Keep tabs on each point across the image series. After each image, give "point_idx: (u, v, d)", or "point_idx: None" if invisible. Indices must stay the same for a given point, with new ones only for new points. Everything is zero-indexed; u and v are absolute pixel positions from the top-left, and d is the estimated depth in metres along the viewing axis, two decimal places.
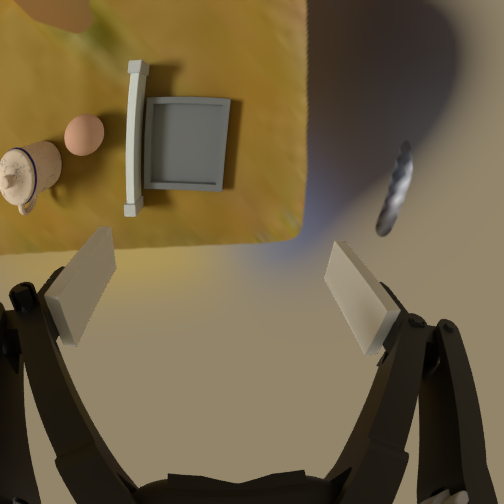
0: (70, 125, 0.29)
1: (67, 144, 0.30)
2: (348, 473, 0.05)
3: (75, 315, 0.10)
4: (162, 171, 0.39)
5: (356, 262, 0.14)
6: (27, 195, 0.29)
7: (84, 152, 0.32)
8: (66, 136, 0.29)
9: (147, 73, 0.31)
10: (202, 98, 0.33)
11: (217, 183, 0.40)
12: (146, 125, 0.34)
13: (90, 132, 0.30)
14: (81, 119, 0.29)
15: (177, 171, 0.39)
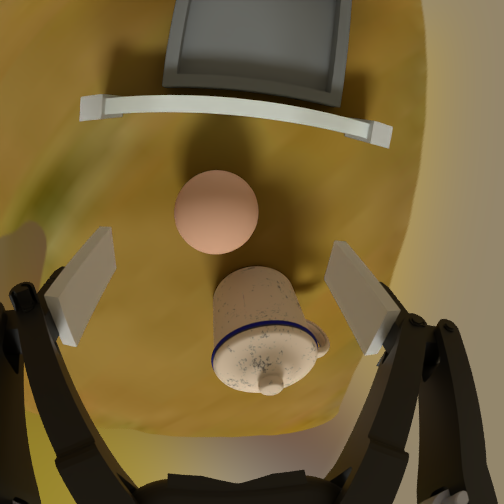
0: (190, 239, 0.19)
1: (228, 247, 0.19)
2: (348, 473, 0.05)
3: (75, 315, 0.10)
4: (310, 72, 0.18)
5: (356, 262, 0.14)
6: (307, 343, 0.20)
7: (253, 210, 0.19)
8: (211, 248, 0.19)
9: None
10: None
11: None
12: (218, 85, 0.17)
13: (213, 191, 0.18)
14: (180, 214, 0.18)
15: (313, 47, 0.17)
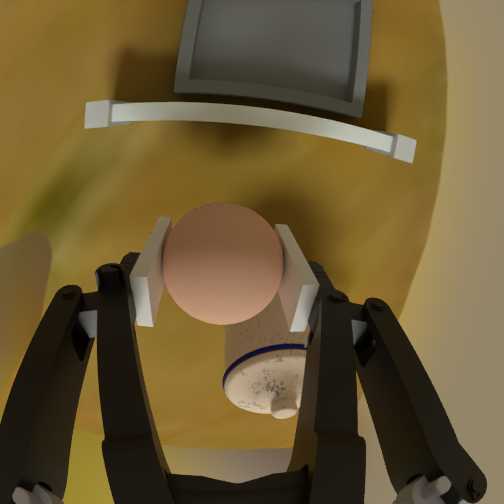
0: (185, 308, 0.13)
1: (241, 319, 0.13)
2: (307, 469, 0.05)
3: (153, 296, 0.12)
4: (331, 80, 0.17)
5: (289, 242, 0.15)
6: None
7: (278, 267, 0.13)
8: (216, 321, 0.13)
9: None
10: None
11: None
12: (234, 92, 0.17)
13: (218, 243, 0.11)
14: (169, 273, 0.12)
15: (333, 54, 0.16)
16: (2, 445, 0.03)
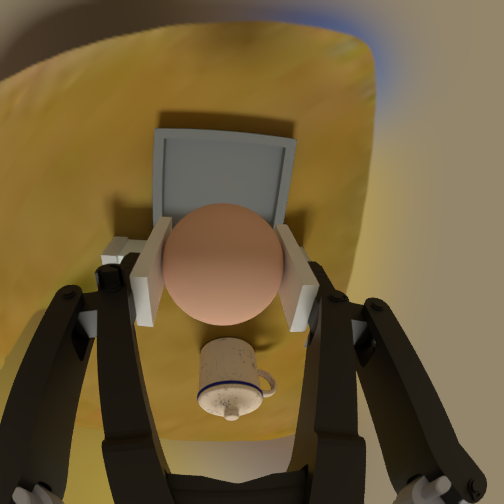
0: (185, 309, 0.13)
1: (241, 320, 0.13)
2: (307, 469, 0.05)
3: (153, 296, 0.12)
4: None
5: (288, 242, 0.15)
6: (253, 393, 0.32)
7: (278, 268, 0.13)
8: (216, 322, 0.13)
9: (124, 239, 0.29)
10: (154, 166, 0.25)
11: (283, 144, 0.26)
12: None
13: (218, 244, 0.11)
14: (169, 274, 0.12)
15: (261, 198, 0.29)
16: (1, 445, 0.03)
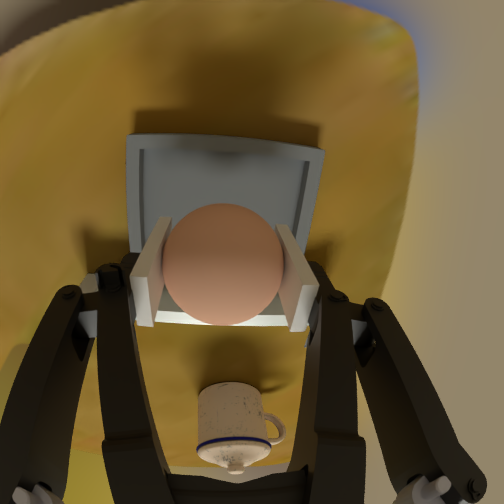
0: (185, 309, 0.13)
1: (241, 320, 0.13)
2: (307, 469, 0.05)
3: (153, 296, 0.12)
4: None
5: (288, 242, 0.15)
6: (260, 448, 0.25)
7: (278, 268, 0.13)
8: (216, 322, 0.13)
9: None
10: (129, 188, 0.18)
11: (307, 157, 0.18)
12: None
13: (218, 244, 0.11)
14: (169, 274, 0.12)
15: (273, 229, 0.22)
16: (1, 445, 0.03)
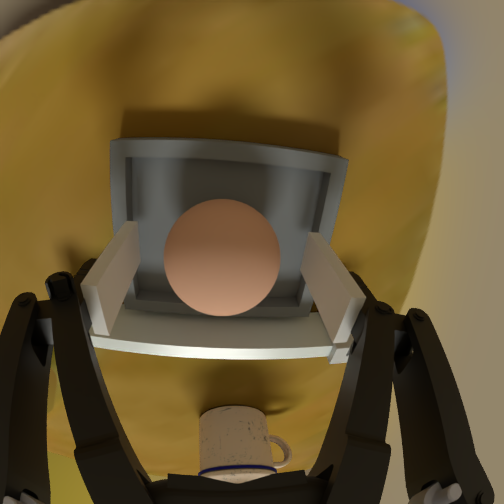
0: (185, 300, 0.13)
1: (240, 310, 0.14)
2: (331, 470, 0.05)
3: (109, 304, 0.11)
4: (280, 279, 0.20)
5: (327, 252, 0.14)
6: (266, 475, 0.22)
7: (274, 260, 0.14)
8: (216, 313, 0.13)
9: None
10: (114, 204, 0.15)
11: (328, 168, 0.15)
12: (180, 311, 0.19)
13: (217, 236, 0.12)
14: (171, 266, 0.13)
15: (285, 250, 0.19)
16: None
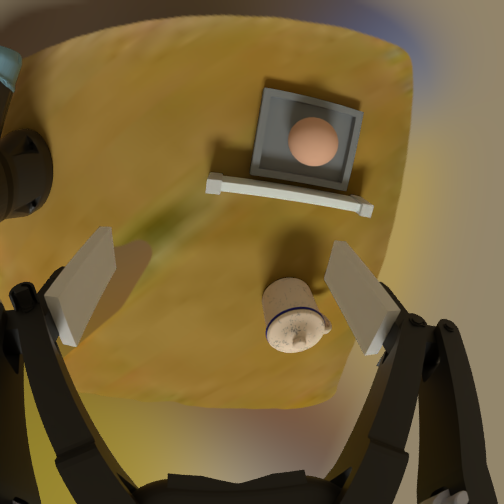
0: (302, 150, 0.30)
1: (324, 157, 0.30)
2: (348, 473, 0.05)
3: (75, 315, 0.10)
4: (332, 168, 0.37)
5: (356, 262, 0.14)
6: (319, 320, 0.38)
7: (337, 140, 0.30)
8: (314, 156, 0.30)
9: (220, 174, 0.36)
10: (261, 115, 0.32)
11: (355, 114, 0.32)
12: (281, 178, 0.36)
13: (318, 124, 0.29)
14: (298, 135, 0.30)
15: None
16: None
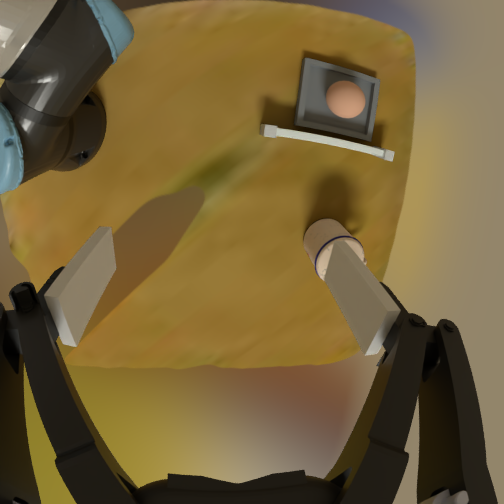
0: (340, 103, 0.35)
1: (356, 110, 0.35)
2: (348, 473, 0.05)
3: (75, 315, 0.10)
4: (358, 123, 0.41)
5: (356, 262, 0.14)
6: (360, 248, 0.43)
7: (364, 97, 0.35)
8: (349, 108, 0.35)
9: None
10: (304, 79, 0.36)
11: (373, 81, 0.37)
12: (321, 128, 0.40)
13: (351, 85, 0.33)
14: (336, 92, 0.34)
15: None
16: None
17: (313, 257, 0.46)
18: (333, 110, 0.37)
